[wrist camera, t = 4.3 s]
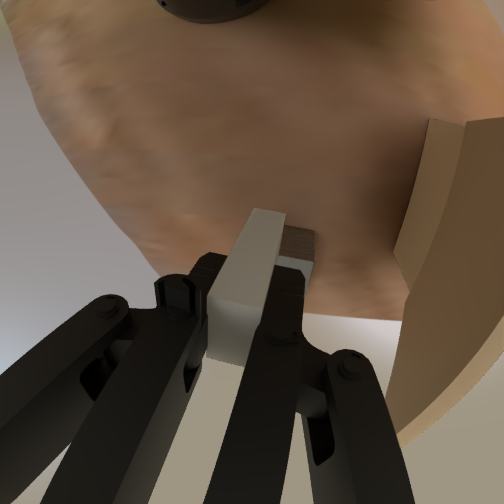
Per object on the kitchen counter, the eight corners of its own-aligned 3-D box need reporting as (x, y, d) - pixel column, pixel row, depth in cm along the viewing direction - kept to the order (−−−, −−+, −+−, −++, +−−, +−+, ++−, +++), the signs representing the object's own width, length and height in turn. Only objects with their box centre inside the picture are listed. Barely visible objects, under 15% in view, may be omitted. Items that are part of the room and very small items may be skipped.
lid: (476, 126, 14) (466, 121, 14) (592, 132, 2) (571, 113, 2) (413, 305, 23) (405, 302, 23) (378, 463, 11) (363, 458, 11)
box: (429, 118, 23) (475, 128, 14) (519, 163, 21) (566, 189, 12) (392, 251, 32) (414, 302, 23) (480, 272, 30) (509, 316, 21)
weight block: (273, 223, 33) (263, 252, 27) (314, 231, 33) (314, 262, 27) (264, 277, 37) (255, 311, 31) (301, 284, 37) (297, 320, 31)
